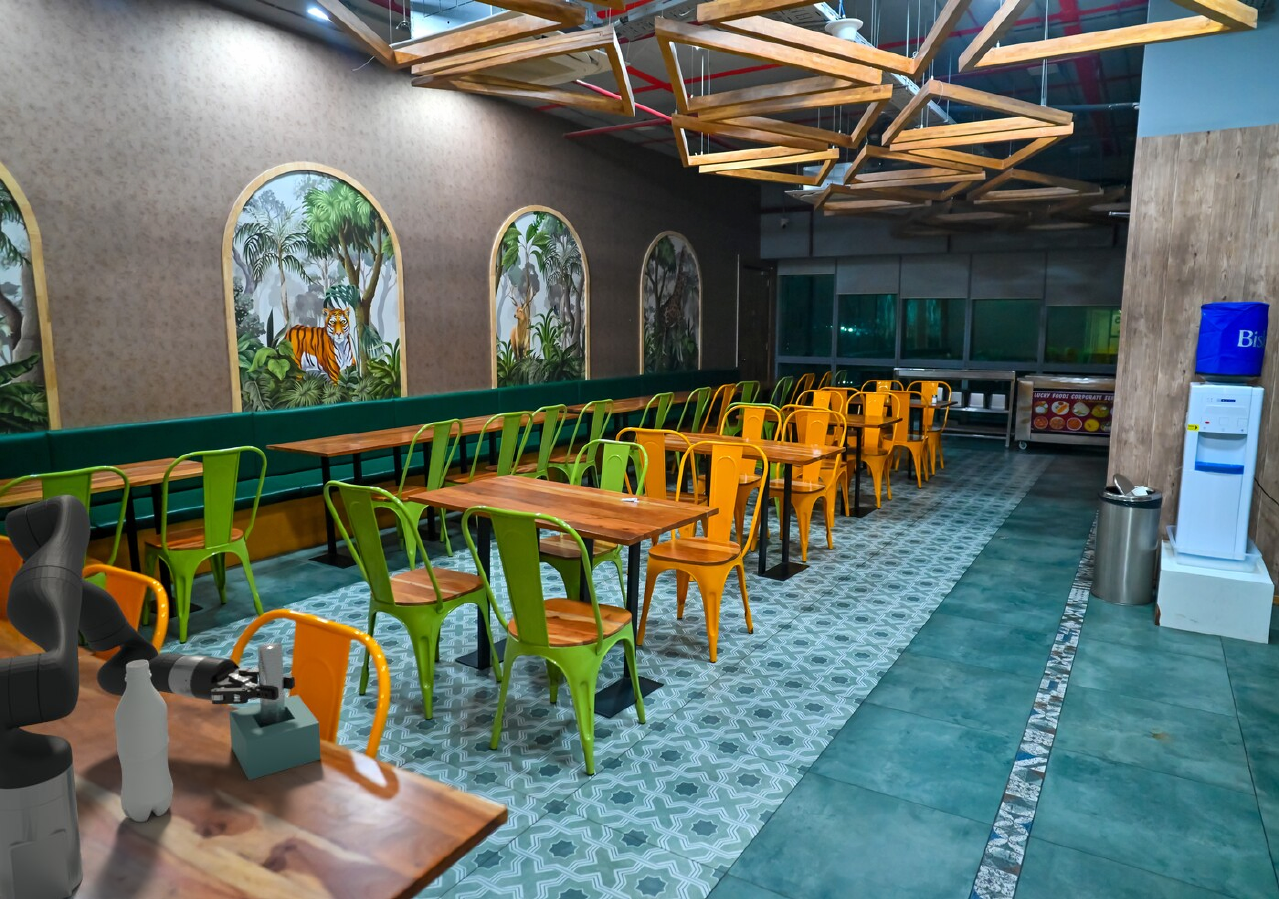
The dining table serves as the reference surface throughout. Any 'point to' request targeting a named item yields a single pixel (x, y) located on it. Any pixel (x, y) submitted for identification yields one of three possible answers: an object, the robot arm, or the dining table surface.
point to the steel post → (271, 682)
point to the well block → (274, 739)
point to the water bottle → (143, 745)
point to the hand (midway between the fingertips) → (285, 688)
